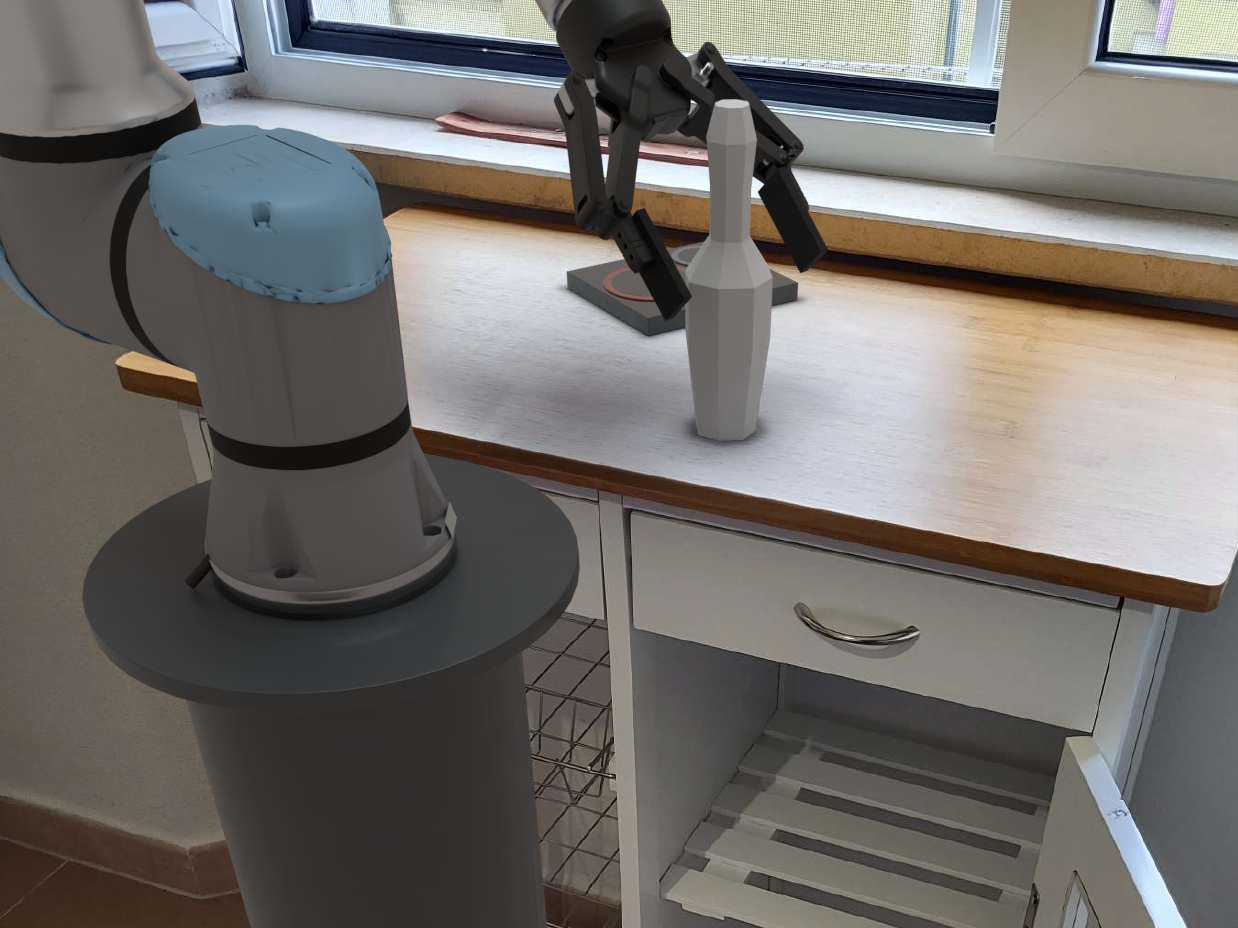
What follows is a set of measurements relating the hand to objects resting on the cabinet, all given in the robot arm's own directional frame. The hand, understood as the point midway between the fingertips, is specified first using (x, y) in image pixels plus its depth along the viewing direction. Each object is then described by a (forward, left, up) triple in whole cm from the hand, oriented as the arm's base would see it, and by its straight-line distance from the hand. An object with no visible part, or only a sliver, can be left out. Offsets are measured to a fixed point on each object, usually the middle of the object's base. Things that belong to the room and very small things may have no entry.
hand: (749, 285), depth 99 cm
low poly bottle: (0, +2, -11) cm, 11 cm away
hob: (+13, +28, -11) cm, 32 cm away
